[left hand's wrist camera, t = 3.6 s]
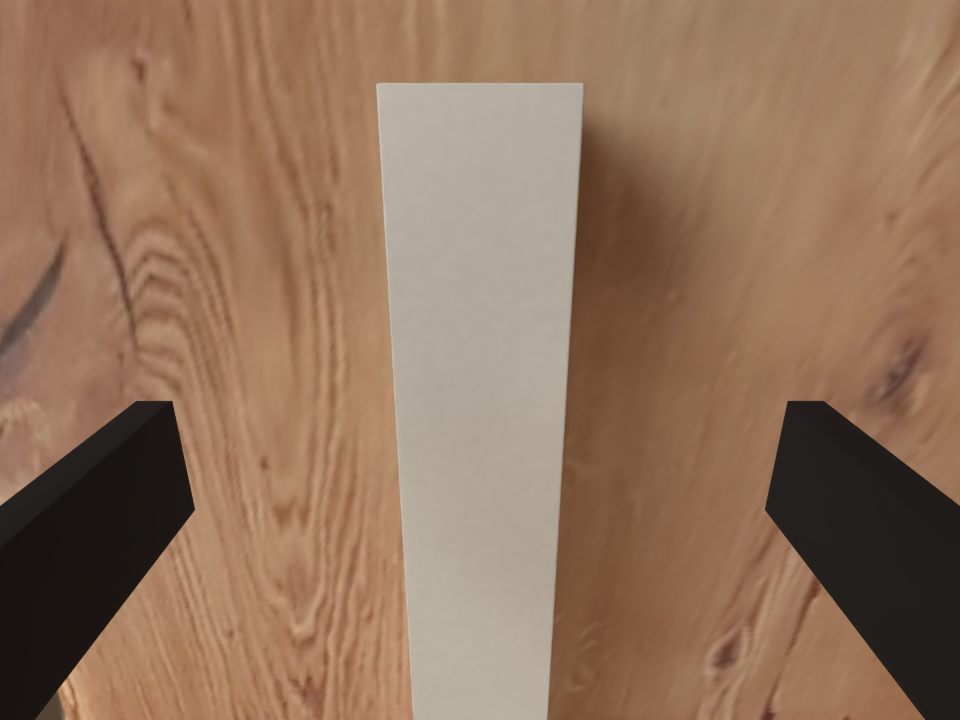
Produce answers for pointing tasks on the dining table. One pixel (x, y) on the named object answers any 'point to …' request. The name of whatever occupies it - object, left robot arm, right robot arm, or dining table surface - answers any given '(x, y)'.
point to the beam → (480, 378)
